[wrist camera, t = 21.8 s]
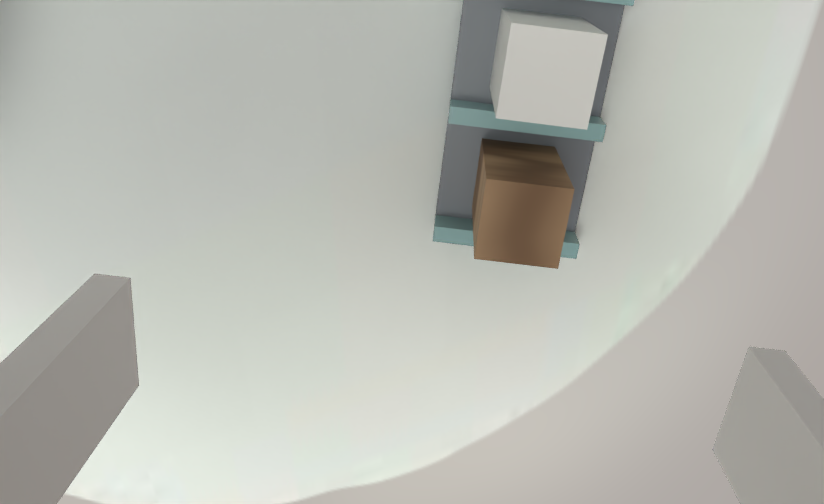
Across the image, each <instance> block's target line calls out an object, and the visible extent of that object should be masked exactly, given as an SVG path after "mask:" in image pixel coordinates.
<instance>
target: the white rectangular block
mask: <svg viewBox="0 0 824 504" xmlns="http://www.w3.org/2000/svg"><path fill="white" fill-rule="evenodd" d="M607 37H608V34H606V33H604V32H603V31H601V30H600V29H598V28H597V27H595V26H593V25H592V24H590V23H589V22H587V21H586V20H584V19H582V18H581V17H573V16H565V15H557V14H548V13H540V12H532V11H524V10H516V9H508V8H502V11H501V17H500V24H499V30H498V37H497V43H496V49H495V56H494V62H493V69H492V75H491V81H490V92H491V97H492V102H493V107H494V112H495V117H496V118H497V119H505V120H513V121H521V122H529V123H537V124H545V125H553V126H561V127H569V128H577V129H585V130H587V128H588V124H589V119H590V115H591V110H592V106H593V101H594V96H595V92H596V87H597V83H598V78H599V74H600V69H601V65H602V60H603V55H604V51H605V46H606V42H607Z"/></svg>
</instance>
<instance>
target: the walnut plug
mask: <svg viewBox="0 0 824 504" xmlns="http://www.w3.org/2000/svg"><path fill="white" fill-rule="evenodd" d="M573 194H574V187H573V185H572V183H571V180H570V178H569V176H568V174H567V172H566V170H565V167H564V165H563V163H562V161H561V159H560V157H559V154H558V152H557V150H556V148H555V147H553V146H544V145H535V144H527V143H518V142H509V141H501V140H492V139H483V138H482V141H481V148H480V155H479V162H478V169H477V175H476V182H475V189H474V196H473V203H472V219H473V242H474V259H481V260H489V261H498V262H506V263H515V264H523V265H531V266H540V267H548V268H557V269H558V266H559V261H560V256H561V252H562V247H563V242H564V237H565V232H566V228H567V223H568V218H569V213H570V208H571V204H572V199H573Z"/></svg>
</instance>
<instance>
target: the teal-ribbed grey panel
mask: <svg viewBox="0 0 824 504" xmlns="http://www.w3.org/2000/svg"><path fill="white" fill-rule="evenodd" d="M633 4H634V0H463V7H462V15H461V23H460V31H459V38H458V46H457V54H456V62H455V69H454V77H453V85H452V93H451V100H450V108H449V116H448V124H447V131H446V139H445V147H444V155H443V162H442V170H441V178H440V186H439V193H438V201H437V209H436V217H435V224H434V235H433V241H436V242H444V243H452V244H460V245H468V246H474V242H473V219H472V203H473V196H474V189H475V182H476V175H477V169H478V162H479V155H480V148H481V141H482V138H483V139H492V140H501V141H509V142H518V143H527V144H535V145H544V146H553V147H555V148H556V150H557V152H558V154H559V157H560V159H561V161H562V163H563V165H564V167H565V170H566V172H567V174H568V176H569V178H570V180H571V183H572V185H573V187H574V194H573V199H572V204H571V208H570V213H569V218H568V223H567V228H566V232H565V237H564V242H563V247H562V252H561V256H560V257H566V258H574V259H576V258H577V253H578V249H579V242H578V239H577V236H576V234H575V228H576V224H577V219H578V215H579V210H580V205H581V201H582V196H583V192H584V187H585V183H586V178H587V174H588V169H589V165H590V160H591V155H592V151H593V146H594V142H595V141H598V142H603V138H604V133H605V129H606V124H605V123H604V122H603V120H602V119H601V118H600V115H601V110H602V106H603V101H604V96H605V92H606V87H607V83H608V78H609V74H610V69H611V65H612V60H613V56H614V51H615V46H616V42H617V37H618V33H619V28H620V24H621V19H622V15H623V10H624V6H625V5H629V6H633ZM502 8H508V9H516V10H524V11H532V12H540V13H548V14H557V15H565V16H573V17H581V18H582V19H584V20H586V21H587V22H589V23H590V24H592V25H593V26H595V27H597V28H598V29H600V30H601V31H603V32H604V33H606V34H608V37H607V42H606V46H605V51H604V55H603V60H602V65H601V69H600V74H599V78H598V83H597V87H596V92H595V96H594V101H593V106H592V110H591V115H590V119H589V124H588V128H587V130H585V129H577V128H569V127H561V126H553V125H545V124H537V123H529V122H521V121H513V120H505V119H497V118H496V117H495V112H494V107H493V102H492V97H491V92H490V81H491V75H492V69H493V62H494V56H495V49H496V43H497V37H498V30H499V24H500V17H501V11H502Z"/></svg>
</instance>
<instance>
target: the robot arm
mask: <svg viewBox="0 0 824 504" xmlns="http://www.w3.org/2000/svg"><path fill="white" fill-rule="evenodd" d="M138 386H139V379H138V367H137V354H136V341H135V329H134V316H133V303H132V291H131V278H128V277H119V276H110V275H101V274H94V275H93V276H92V277H91V278H90V279H89V280H88V281H86V282H85V283H84V284H83V285H82V286H81V287H80V288H79V289H78V290H77V291H76V292H75V293H74V294H73V295H72V296H71V297H70V298H69V299H68V300H66V301H65V302H64V303H63V304H62V305H61V306H60V307H59V308H58V309H57V310H56V311H55V312H54V313H53V314H52V315H51V316H50V317H49V318H48V319H46V320H45V321H44V322H43V323H42V324H41V325H40V326H39V327H38V328H37V329H36V330H35V331H34V332H33V333H32V334H31V335H30V336H29V337H28V338H27V339H25V340H24V341H23V342H22V343H21V344H20V345H19V346H18V347H17V348H16V349H15V350H14V351H13V352H12V353H11V354H10V355H9V356H8V357H7V358H5V359H4V360H3V361H2V362H1V363H0V504H57V503H58V501H59V500H60V499H61V497H62V496H63V494H64V493H65V491H66V490H67V488H68V487H69V486H70V484H71V483H72V481H73V480H74V478H75V477H76V475H77V474H78V473H79V471H80V470H81V468H82V467H83V465H84V464H85V462H86V461H87V460H88V458H89V457H90V455H91V454H92V452H93V451H94V449H95V448H96V447H97V445H98V444H99V442H100V441H101V439H102V438H103V436H104V435H105V434H106V432H107V431H108V429H109V428H110V426H111V425H112V423H113V422H114V421H115V419H116V418H117V416H118V415H119V413H120V412H121V410H122V409H123V408H124V406H125V405H126V403H127V402H128V400H129V399H130V397H131V396H132V395H133V393H134V392H135V390H136V389H137V387H138ZM713 451H714V454H715V455H716V457H717V459H718V461H719V463H720V465H721V467H722V469H723V471H724V473H725V475H726V477H727V479H728V481H729V483H730V485H731V487H732V489H733V491H734V493H735V495H736V497H737V499H738V501H739V503H740V504H824V398H823V397H822V396H821V395H820V394H819V392H818V391H817V390H816V388H815V387H814V386H813V385H812V384H811V382H810V381H809V380H808V379H807V377H806V376H805V375H804V374H803V372H802V371H801V370H800V369H799V367H798V366H797V365H796V364H795V362H794V361H793V360H792V359H791V357H790V356H789V355H788V354H787V352H786V351H783V350H774V349H765V348H756V347H749V348H748V351H747V353H746V356H745V359H744V362H743V365H742V367H741V370H740V373H739V376H738V379H737V382H736V385H735V387H734V390H733V393H732V396H731V399H730V401H729V404H728V407H727V410H726V413H725V416H724V418H723V421H722V424H721V427H720V430H719V433H718V435H717V438H716V441H715V444H714V447H713Z"/></svg>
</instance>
